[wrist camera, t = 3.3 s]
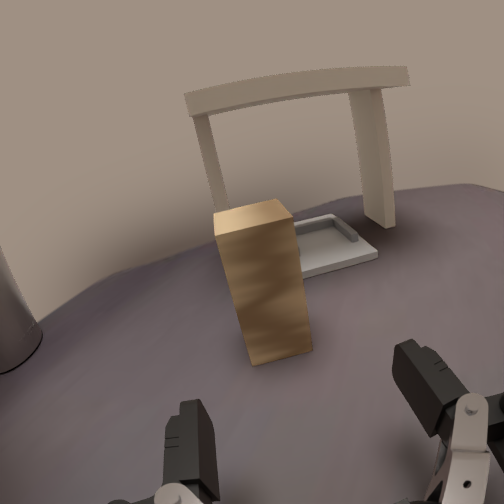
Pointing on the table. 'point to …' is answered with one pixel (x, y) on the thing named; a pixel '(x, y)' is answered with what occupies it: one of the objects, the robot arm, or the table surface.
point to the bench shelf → (367, 138)
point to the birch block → (265, 279)
